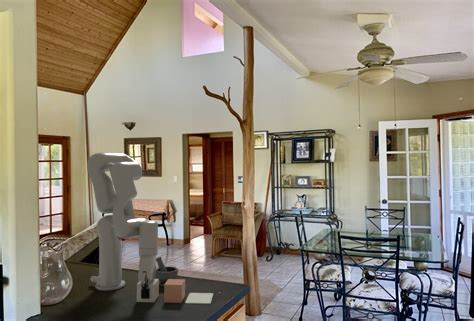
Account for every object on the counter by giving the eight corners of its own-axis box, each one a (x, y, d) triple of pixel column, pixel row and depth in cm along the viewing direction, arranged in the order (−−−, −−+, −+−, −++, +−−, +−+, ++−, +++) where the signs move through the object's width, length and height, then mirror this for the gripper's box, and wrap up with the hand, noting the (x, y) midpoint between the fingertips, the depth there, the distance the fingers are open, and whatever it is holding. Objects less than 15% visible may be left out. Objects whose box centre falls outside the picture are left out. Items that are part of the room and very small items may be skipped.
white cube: (136, 301, 146) (136, 284, 146) (142, 295, 153) (142, 278, 153) (154, 302, 145) (154, 284, 146) (158, 295, 152) (158, 278, 153)
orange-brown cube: (164, 302, 145) (164, 284, 145) (168, 295, 152) (168, 279, 152) (181, 302, 145) (181, 284, 145) (185, 296, 152) (185, 279, 152)
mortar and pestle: (181, 283, 168) (182, 257, 169) (169, 289, 160) (169, 261, 160) (162, 279, 174) (162, 254, 174) (149, 285, 165) (149, 258, 166)
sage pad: (185, 303, 144) (185, 302, 144) (189, 293, 155) (189, 292, 155) (210, 304, 144) (210, 303, 144) (213, 294, 155) (213, 293, 155)
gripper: (145, 246, 158) (145, 287, 158) (132, 256, 141) (131, 303, 141) (162, 246, 158) (162, 288, 158) (151, 256, 140) (151, 303, 140)
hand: (148, 294), depth 149 cm, fingers closed on white cube, 7 cm apart
